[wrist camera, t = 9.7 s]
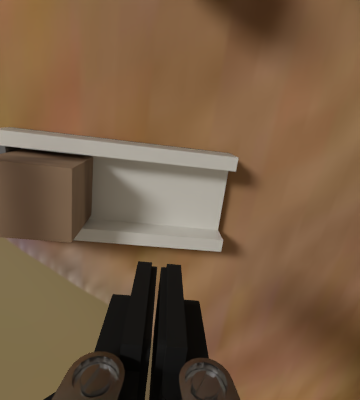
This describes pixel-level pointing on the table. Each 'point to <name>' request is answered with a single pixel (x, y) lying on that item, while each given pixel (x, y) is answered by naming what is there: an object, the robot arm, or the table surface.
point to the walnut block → (44, 194)
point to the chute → (143, 188)
